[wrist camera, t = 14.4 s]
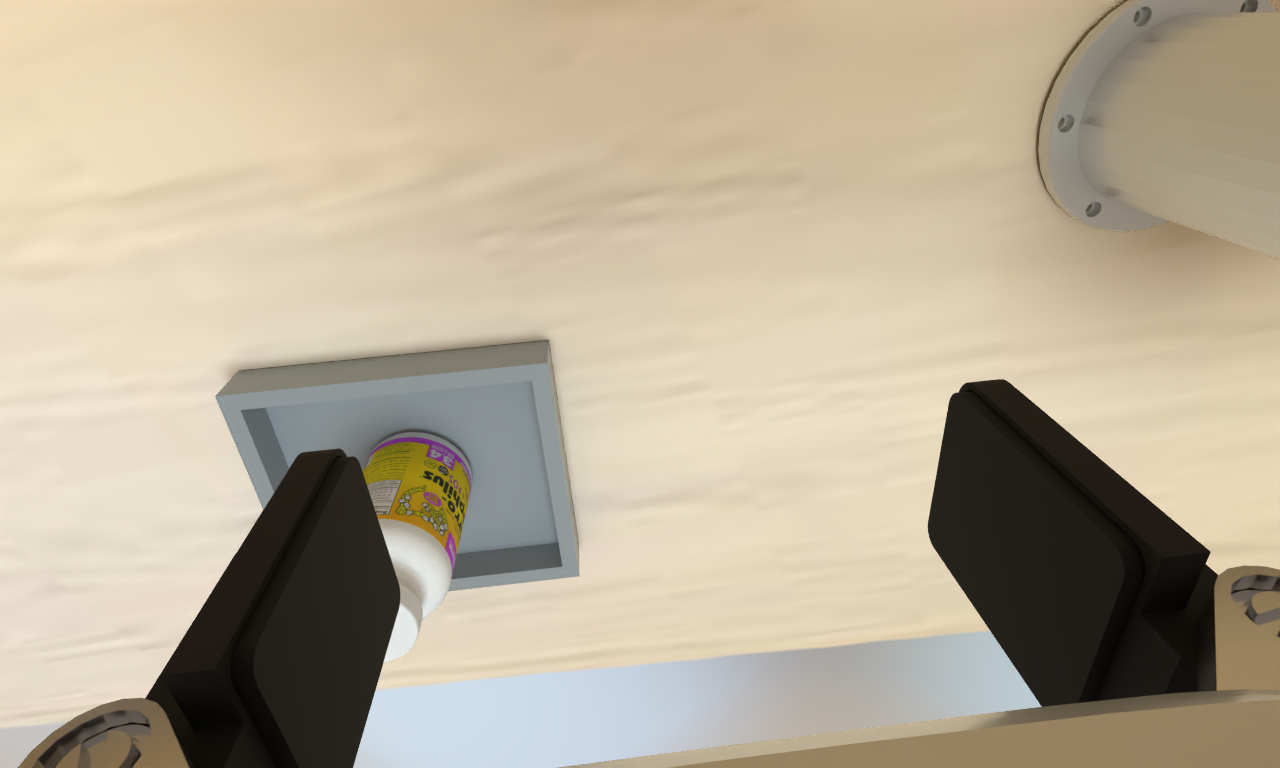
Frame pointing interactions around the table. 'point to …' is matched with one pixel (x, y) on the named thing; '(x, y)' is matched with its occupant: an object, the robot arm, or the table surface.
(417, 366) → the tray
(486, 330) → the table surface
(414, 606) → the supplement bottle
